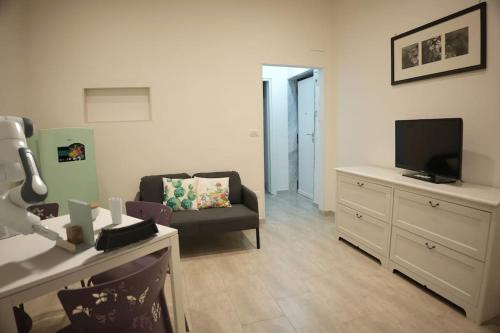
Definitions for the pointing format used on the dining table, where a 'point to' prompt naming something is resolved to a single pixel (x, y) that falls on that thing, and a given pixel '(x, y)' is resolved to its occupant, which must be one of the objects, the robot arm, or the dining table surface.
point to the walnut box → (75, 235)
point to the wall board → (80, 217)
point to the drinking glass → (116, 210)
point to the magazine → (125, 235)
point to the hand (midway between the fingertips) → (56, 237)
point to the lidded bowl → (95, 210)
